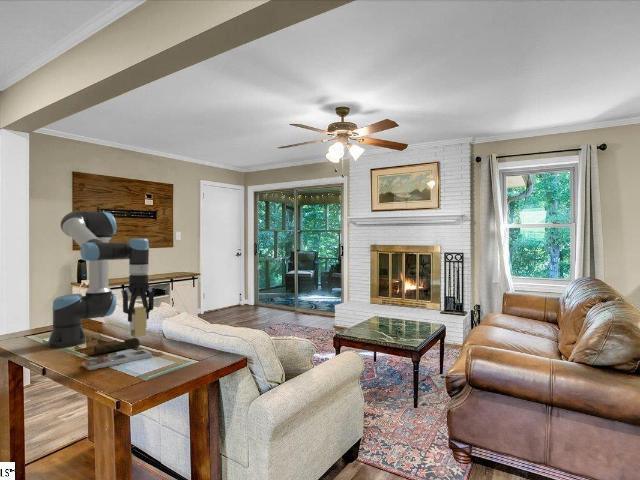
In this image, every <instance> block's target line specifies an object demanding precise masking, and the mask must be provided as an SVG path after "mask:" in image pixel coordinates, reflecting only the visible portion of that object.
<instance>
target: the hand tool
mask: <svg viewBox="0 0 640 480" xmlns="http://www.w3.org/2000/svg"><path fill="white" fill-rule="evenodd" d="M138 347H141V346H140V340H139V338H138V337H132V338H127V339H125V340H124V341H120V342H116V343H115V342H114V343H111V344H110V343H109V344H105V345H100V346H99V345H98V346H94V347H93V355H94V356H97V355H102V354H105V353H110V352H114V351H120V350H131V349H135V348H138Z"/></svg>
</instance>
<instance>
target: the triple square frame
mask: <svg viewBox="0 0 640 480" xmlns="http://www.w3.org/2000/svg"><path fill="white" fill-rule="evenodd" d="M152 357H153V353H152V352H150V351H149V350H147V349H138V350H134V351H129V352H124V353H119V354H114V355H109V356H101V357H97V358H92V359H89V360H88V359H87V360H83V361H82V366H83V368H84V369H86V370H87V371H88V370H90V371H93V370H94V371H95V370H98V368H99V369H104V368H107V367H111V366H116V365H121V364H125V363H129V362H133V361H134V362H135V361H139V360H143V359H147V358H152Z"/></svg>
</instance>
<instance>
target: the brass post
mask: <svg viewBox="0 0 640 480" xmlns="http://www.w3.org/2000/svg"><path fill="white" fill-rule="evenodd" d="M132 314H134V330H132V329H130V336H132V338H138V337H139V338H140V337H144V336H146V334H147V333H146V328H147V327H146V308H145V307H143V305H141V306H134V309H133V313H132Z"/></svg>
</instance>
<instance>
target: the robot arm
mask: <svg viewBox="0 0 640 480" xmlns="http://www.w3.org/2000/svg"><path fill="white" fill-rule="evenodd" d="M60 229H61V231H62V232H63V234H65V235H66V236H68V237H71V238H72V239H73V241H75V243H76V244H77V245H78V246H79V247H80V251H79V252H80V256H81V259H82V260H83V261H88V289H87V290H85V295H83V294H82V293H71V294H66V295H65V294H64V295H61V296H58V297H56V298H54V300H53V302H52V331H51V334H50V335H49V338H48V341H47V345H48V347H49V348H51V349H53V348H56V349H58V348H59V349H61V348H69V347H74V346H80V345H82V344H85V343H86V342H87V335H86V333H85V330H84V329H83V320H84V321H85V320H91V319H97V318H98V319H99V318H104V317H109V316H111V315H113V314H114V312H115V310H116V307H117V298H116V297H117V296H116V294H115V293H113V292H112V291H113V290H112V289H111V288H109V261H112V260H113V261H117V260H119V261H121V260H128V263H129V264H128V273H129V275H128V286H127V288H125V289H121V295H122V312H123V314H126V315H127V321H128V322H129V329H130V330H131V329H132V330H134V314H132V313H133V309H134V307H135V304H136V300H137V298H138V296H140V297H141V301H142V307H145V308H146V328H147V321H148V320H149V318H150V316H149V315H150V312H151V311H153V310H154V301H155V300H154V299H155V298H154V297H155V296H154V295H155V291H156V287H153V286H150V285H149V257H150V255H149V254H150V253H149V252H150V246H149V245H150V244H149V239H148V238H130V239H129V241H123V242H109V241H110V240H112V237H113V235H116V233H117V222H116V219H115V217H114V214H112V213H111V212H106V211H94V210H93V211H90V210H89V211H88V210H74V211H72V212H69V213H67V214H65V216H63V217H62V218H61V221H60ZM147 292H148V298H147ZM129 293H130V300H129Z"/></svg>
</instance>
